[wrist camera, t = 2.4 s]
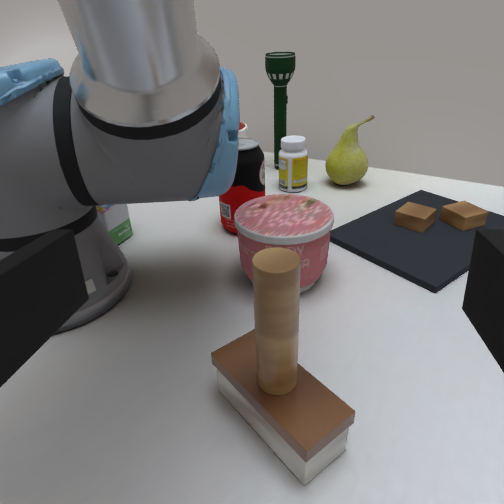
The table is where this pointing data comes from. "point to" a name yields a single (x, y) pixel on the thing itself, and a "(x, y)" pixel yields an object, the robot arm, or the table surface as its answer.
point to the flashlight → (279, 93)
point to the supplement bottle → (293, 164)
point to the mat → (413, 242)
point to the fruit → (347, 158)
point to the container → (286, 231)
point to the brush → (282, 375)
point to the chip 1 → (415, 216)
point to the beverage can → (243, 181)
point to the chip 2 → (463, 215)
